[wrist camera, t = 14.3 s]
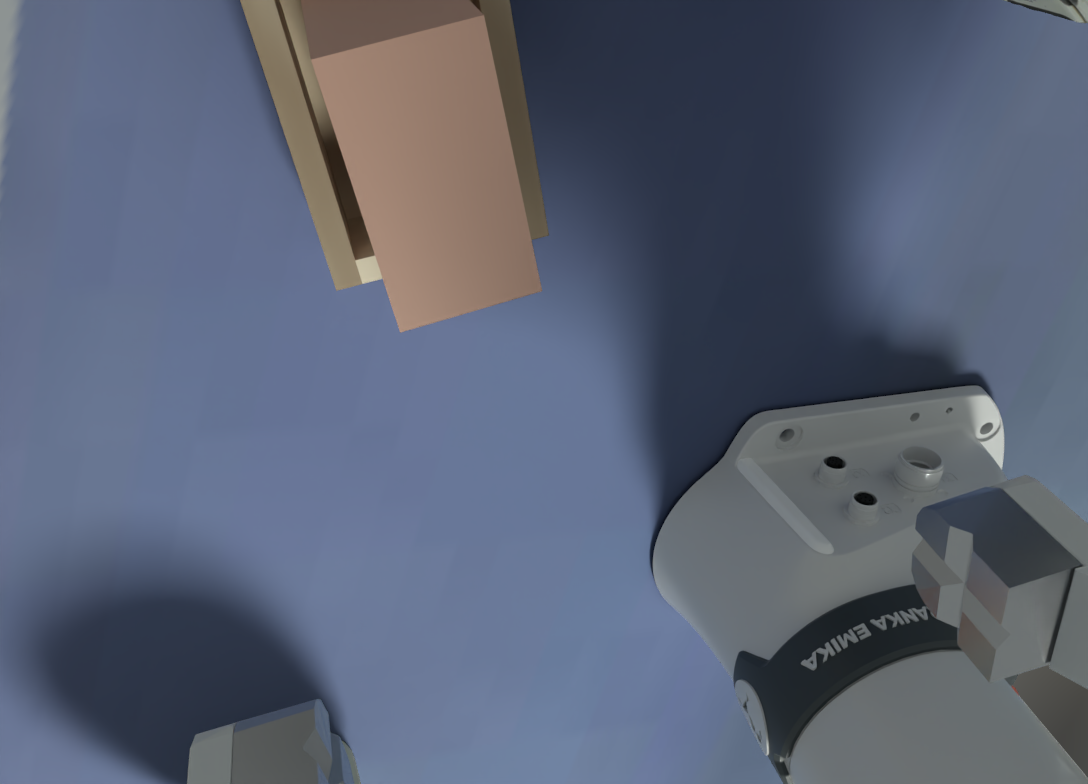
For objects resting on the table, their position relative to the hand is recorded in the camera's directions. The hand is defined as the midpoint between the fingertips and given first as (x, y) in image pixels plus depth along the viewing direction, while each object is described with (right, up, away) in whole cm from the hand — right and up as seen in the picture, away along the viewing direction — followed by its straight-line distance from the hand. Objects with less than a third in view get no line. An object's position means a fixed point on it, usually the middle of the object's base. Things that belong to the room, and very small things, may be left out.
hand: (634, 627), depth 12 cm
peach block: (-7, +15, +22) cm, 28 cm away
